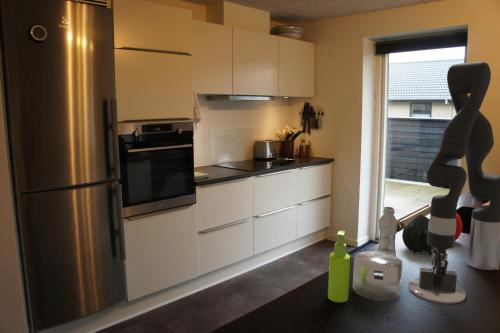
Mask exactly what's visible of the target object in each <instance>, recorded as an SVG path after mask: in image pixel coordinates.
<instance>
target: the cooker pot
mask: <svg viewBox="0 0 500 333" xmlns="http://www.w3.org/2000/svg"><path fill="white" fill-rule="evenodd" d="M402 270H403V261H402V259H401V258H400V257H398V256H397V255H396V256H394V255H391V254H388V253H384V252H381V251H377V250H373V251H370V250H369V251H368V250H367V251H366V250H365V251H361V252H357V253H356V254H354V259H353V273H352V274H353V278H352V290H353V292H354V293H356V294H357V295H358V296H360V297H362V298H365V299H367V300H372V301H379V302H389V301H394V300H396V299H398V298H399V297H400V295H401V289H402V288H401V286H402V273H403V271H402Z"/></svg>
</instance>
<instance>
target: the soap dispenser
mask: <svg viewBox="0 0 500 333" xmlns="http://www.w3.org/2000/svg"><path fill="white" fill-rule="evenodd" d="M346 232H347V230H341V229H339V230H338V231H337V234H336V236H337V242H335V243H334V245H333V246H334V247H333V248H334V250H333V251H332V252H331V253H330V254H329V263H328V280H327V281H328V284H327V287H328V288H327V298H328V300H330V301H332V302H334V303H344V302H347V301H348V300H349V290H350V289H349V286H350V268H351V255H350V254H349V253H347V243H346V242H344V241H345V240H344V239H345V234H346Z"/></svg>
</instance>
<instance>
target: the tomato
mask: <svg viewBox="0 0 500 333" xmlns="http://www.w3.org/2000/svg"><path fill="white" fill-rule="evenodd" d="M462 231H463V221H462V218H461V217H460V215H459V214H458V213H457V212H456V232H455V241H457V240H458V239H459V238H460V237H461V234H462Z"/></svg>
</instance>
